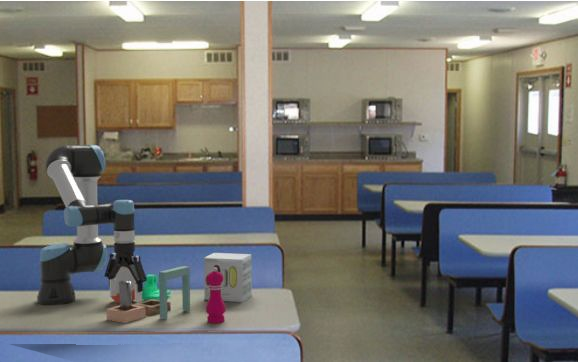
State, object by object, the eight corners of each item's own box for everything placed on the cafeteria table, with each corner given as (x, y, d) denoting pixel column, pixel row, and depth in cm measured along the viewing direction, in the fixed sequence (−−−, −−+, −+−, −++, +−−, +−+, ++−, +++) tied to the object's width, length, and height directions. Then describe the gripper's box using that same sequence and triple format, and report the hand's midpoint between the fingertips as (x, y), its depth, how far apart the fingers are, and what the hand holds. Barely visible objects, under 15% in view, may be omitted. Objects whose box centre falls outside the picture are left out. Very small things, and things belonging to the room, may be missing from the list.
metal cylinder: (117, 318, 252) (116, 281, 251) (126, 316, 255) (125, 279, 254) (125, 320, 249) (124, 283, 248) (134, 317, 253) (133, 281, 252)
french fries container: (114, 300, 281) (113, 257, 280) (139, 300, 280) (138, 257, 279) (110, 302, 277) (109, 259, 276) (135, 303, 275) (134, 259, 274)
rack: (106, 319, 251) (106, 308, 251) (126, 313, 259) (126, 303, 259) (125, 323, 245) (125, 312, 245) (145, 317, 254) (145, 306, 253)
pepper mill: (206, 318, 251) (205, 265, 250) (225, 318, 251) (225, 265, 250) (205, 324, 244) (204, 269, 242) (225, 323, 244) (224, 268, 243)
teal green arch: (159, 317, 252) (158, 271, 251) (184, 309, 263) (183, 266, 262) (165, 318, 250) (164, 272, 249) (190, 310, 262) (189, 266, 260)
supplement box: (203, 300, 279) (202, 257, 278) (214, 293, 292) (213, 252, 291) (243, 302, 275) (242, 259, 274) (252, 295, 288) (252, 253, 287)
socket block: (133, 311, 262) (133, 304, 262) (152, 306, 270) (152, 298, 270) (152, 315, 257) (152, 307, 256) (170, 309, 265) (170, 302, 265)
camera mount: (158, 303, 277) (157, 278, 276) (141, 301, 279) (140, 277, 278) (171, 296, 288) (170, 272, 287) (155, 295, 290) (154, 271, 290)
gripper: (94, 240, 254) (95, 296, 256) (140, 245, 241) (141, 304, 242) (109, 237, 260) (110, 292, 262) (155, 242, 247) (156, 300, 248)
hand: (125, 298), depth 252 cm, fingers open, 13 cm apart
